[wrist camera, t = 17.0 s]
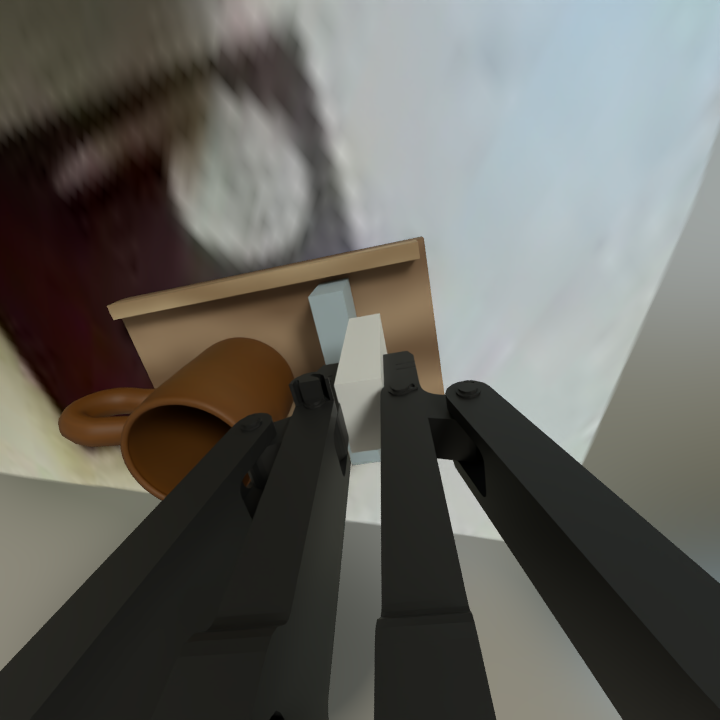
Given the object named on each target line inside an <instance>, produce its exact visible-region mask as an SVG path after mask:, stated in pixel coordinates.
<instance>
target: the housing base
mask: <svg viewBox="0 0 720 720" xmlns="http://www.w3.org/2000/svg"><path fill="white" fill-rule="evenodd" d="M344 278H348V279H349V283H350V288H351V293H352V297H353V302H354V307H355V311H356V316H357V317H362V316H367V315H373V314H379V313H380V317H381V323H382V328H383V334H384V339H385V345H386V350H387V354H390V353H396V352H402V351H408V352H410V353H411V354H413V355H414V360H415V365H416V369H417V374H418V379H419V383H420V386H421V388H422V389H423V390H424V391H427V392H429V393H432V394H440V395H444V388H443V381H442V373H441V366H440V358H439V351H438V343H437V335H436V328H435V320H434V313H433V305H432V297H431V290H430V282H429V275H428V267H427V259H426V252H425V244H424V238H423V237H417V238H413V239H408V240H403V241H398V242H393V243H389V244H384V245H379V246H374V247H369V248H365V249H360V250H355V251H350V252H345V253H341V254H336V255H331V256H326V257H321V258H317V259H312V260H307V261H302V262H297V263H293V264H288V265H283V266H278V267H273V268H269V269H264V270H259V271H254V272H249V273H245V274H240V275H235V276H230V277H225V278H221V279H216V280H211V281H206V282H201V283H197V284H192V285H187V286H182V287H177V288H173V289H168V290H163V291H158V292H153V293H149V294H144V295H139V296H134V297H129V298H125V299H122V300H119V301H116V302H114V303H113V304H111V305H108V306H107V307H108V309H109V312H110V314H111V316H112V318H113V320H116V319H121V318H122V320H123V322H124V324H125V326H126V328H127V330H128V332H129V335H130V337H131V339H132V341H133V343H134V345H135V347H136V349H137V352H138V354H139V356H140V358H141V360H142V362H143V364H144V367H145V369H146V371H147V373H148V375H149V377H150V379H151V381H152V384H153V386H154V388H155V389H156V388H158V387H159V386H160V385H161V384H163V383H164V382H165V381H166V380H168V379H169V378H170V377H171V376H173V375H174V374H175V373H176V372H178V371H179V370H180V369H181V368H183V367H184V366H185V365H186V364H188V363H189V362H190V361H192V360H193V359H194V358H196V357H197V356H198V355H199V354H201V353H202V352H203V351H204V350H206V349H207V348H209V347H210V346H212V345H213V344H215V343H217V342H219V341H222V340H225V339H228V338H234V337H244V338H251V339H255V340H258V341H261V342H263V343H265V344H267V345H269V346H270V347H272V348H274V349H275V350H276V351H277V352H278V353H279V354H280V355H281V356H282V357H283V358H284V359H285V360H286V362H287V363H288V365H289V366H290V368H291V371H292V373H293V376H294V379H295V378H296V377H298V376H301V375H303V374H306V373H310V372H317V371H318V370H319V369H320V368H321V367H322V366H323V365H326V364H325V360H324V356H323V352H322V348H321V344H320V341H319V337H318V333H317V329H316V325H315V322H314V318H313V314H312V310H311V306H310V302H309V299H308V297H309V295H310V294H311V293H312V292H313V291H314V289H315V288H316V287H317V286H318V284H319V283H324V282H329V281H334V280H339V279H344ZM294 409H295V403H294V401H293V404H292V407H291V410H290V412H289V414H288V416H287V417H290V416H292V414H293V411H294ZM348 453H349V451H348ZM349 457H350V455H349Z"/></svg>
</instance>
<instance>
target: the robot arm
mask: <svg viewBox="0 0 720 720" xmlns="http://www.w3.org/2000/svg"><path fill="white" fill-rule="evenodd" d="M289 387H290V391H291V394H292V397H293V400H294V403H295V409H294V411H293V414H292V416H290V417H287V418H285V419H282V420H279V421H276V422H273V419H272V417H271V415H269V414H268V413H254V414H251V415H248V416H246V417H245V418H243V419H241V420H239V421H238V422H237V423H236V424H234V426H233V427H232V428H231V429H230V430H229V431H228V432H227V433H226V434H225V435H224V436H223V437H222V438H221V439H220V440H219V441H218V442H217V443H216V445H215V446H214V447H213V448H212V449H211V450H210V451H209V452H208V453H207V454H206V455H205V456H204V457H203V458H202V459H201V460H200V461H199V462H198V463H197V465H196V466H195V467H194V468H193V469H192V470H191V471H190V472H189V473H188V474H187V475H186V476H185V477H184V478H183V479H182V480H181V481H180V482H179V484H178V485H177V486H176V487H175V488H174V489H173V490H172V491H171V492H170V493H169V494H168V495H167V496H166V497H165V498H164V499H163V500H162V502H160V504H159V505H158V506H157V507H156V508H155V509H154V510H153V511H152V512H151V513H150V514H149V515H148V516H147V517H146V519H144V521H142V523H141V524H140V525H139V526H138V527H137V528H136V529H135V530H134V531H133V532H132V533H131V534H130V535H129V536H128V537H127V538H126V539H125V541H123V543H122V544H121V545H120V546H119V547H118V548H117V549H116V550H115V551H114V552H113V553H112V554H111V555H110V556H109V557H108V558H107V560H105V562H104V563H103V564H102V565H101V566H100V567H99V568H98V569H97V570H96V571H95V572H94V573H93V574H92V575H91V576H90V577H89V578H88V579H87V580H86V582H85V583H84V584H83V585H82V586H81V587H80V588H79V589H78V590H77V591H76V592H75V593H74V594H73V595H72V596H71V597H70V598H69V600H68V601H67V602H66V603H65V604H64V605H63V606H62V607H61V608H60V609H59V610H58V611H57V612H56V613H55V614H54V615H53V616H52V617H51V619H49V621H48V622H47V623H46V624H45V625H44V626H43V627H42V628H41V629H40V630H39V631H38V632H37V633H36V634H35V635H34V636H33V637H32V638H31V639H30V641H29V642H28V643H27V644H26V645H25V646H24V647H23V648H22V649H21V650H20V651H19V652H18V653H17V654H16V655H15V656H14V657H13V658H12V660H11V661H10V662H9V663H8V664H7V665H6V666H5V667H4V668H3V669H2V670H1V671H0V720H329V718H328V694H329V685H330V674H331V664H332V653H333V642H334V632H335V622H336V611H337V601H338V591H339V579H340V570H341V559H342V549H343V539H344V538H343V537H344V528H345V518H346V507H347V497H348V486H349V476H350V466H351V462H350V457H349V453H348V443H349V444H350V448H351V452H352V453H356V452H363V451H371V450H378V449H381V570H382V571H381V574H382V612H381V617H380V618H379V619H377V623H376V630H375V687H374V688H375V689H374V691H375V693H374V696H375V697H374V720H496V716H495V712H494V707H493V703H492V698H491V694H490V689H489V685H488V680H487V676H486V672H485V667H484V662H483V658H482V654H481V649H480V644H479V640H478V635H477V631H476V627H475V622H474V619H473V615H472V613H471V611H470V609H469V605H468V600H467V596H466V592H465V587H464V582H463V578H462V573H461V568H460V564H459V559H458V554H457V550H456V545H455V540H454V536H453V531H452V527H451V522H450V517H449V513H448V508H447V503H446V499H445V494H444V490H443V485H442V480H441V476H440V471H439V466H438V462H437V458H439V459H448V460H453V462H454V465H455V467H456V469H457V470H458V472H459V473H460V475H461V476H462V478H463V479H464V481H465V482H466V484H467V485H468V487H469V489H470V490H471V492H472V493H473V495H474V496H475V498H476V499H477V501H478V502H479V504H480V505H481V507H482V508H483V510H484V511H485V513H486V514H487V516H488V517H489V519H490V520H491V522H492V523H493V525H494V526H495V528H496V529H497V531H498V532H499V534H500V535H501V537H502V538H503V540H504V541H505V543H506V544H507V546H508V547H509V549H510V550H511V552H512V553H513V555H514V556H515V558H516V559H517V561H518V562H519V564H520V565H521V567H522V568H523V570H524V571H525V573H526V574H527V576H528V577H529V579H530V580H531V582H532V583H533V585H534V586H535V588H536V589H537V591H538V592H539V594H540V595H541V597H542V598H543V600H544V602H545V603H546V605H547V606H548V608H549V609H550V611H551V612H552V614H553V615H554V616H555V618H556V620H557V621H558V622H559V624H560V625H561V627H562V629H563V630H564V632H565V633H566V634H567V636H568V638H569V639H570V641H571V642H572V644H573V645H574V647H575V648H576V650H577V651H578V653H579V654H580V656H581V657H582V659H583V660H584V661H585V663H586V665H587V666H588V668H589V669H590V671H591V672H592V674H593V675H594V677H595V678H596V680H597V681H598V683H599V684H600V686H601V687H602V689H603V690H604V692H605V693H606V695H607V697H608V698H609V699H610V701H611V702H612V704H613V706H614V707H615V709H616V710H617V712H618V713H619V715H620V716H621V718H622V719H623V720H720V583H719V582H717V581H716V580H715V579H714V578H712V577H711V576H710V575H709V574H708V573H707V572H706V571H705V570H703V569H702V568H701V567H700V566H699V565H698V564H696V563H695V562H694V561H693V560H692V559H690V558H689V557H688V556H687V555H686V554H685V553H683V552H682V551H681V550H680V549H679V548H677V547H676V546H675V545H674V544H673V543H672V542H670V540H668V539H667V538H666V537H665V536H664V535H663V534H661V533H660V532H659V531H658V530H657V529H655V528H654V527H653V526H652V525H651V524H650V523H649V522H647V521H646V520H645V519H644V518H643V517H642V516H640V515H639V514H638V513H637V512H636V511H635V510H633V509H632V508H631V507H630V506H629V505H627V504H626V503H625V502H624V501H623V500H622V499H620V498H619V497H618V496H617V495H616V494H615V493H613V492H612V491H611V490H610V489H609V488H608V487H606V486H605V485H604V484H603V483H602V482H601V481H599V480H598V479H597V478H596V477H595V476H594V475H592V474H591V473H590V472H589V471H588V470H587V469H586V468H584V467H583V466H582V465H581V464H580V463H579V462H577V461H576V460H575V459H574V458H573V457H572V456H570V455H569V454H568V453H567V452H566V451H565V450H563V449H562V448H561V447H560V446H559V445H558V444H556V443H555V442H554V441H553V440H552V439H551V438H549V437H548V436H547V435H546V434H545V433H544V432H542V431H541V430H540V429H539V428H538V427H537V426H535V425H534V424H533V423H532V422H531V421H530V420H528V419H527V418H526V417H525V416H524V415H523V414H521V413H520V412H519V411H518V410H517V409H516V408H514V407H513V406H512V405H511V404H510V403H509V402H507V401H506V400H505V399H504V398H503V397H502V396H500V395H499V394H498V393H497V392H496V391H495V390H493V389H492V388H491V387H490V386H488V385H487V384H485V383H483V382H478V381H473V380H470V381H469V380H466V381H462V382H457V383H455V384H453V385H451V386H450V387H448V388H447V390H446V393H445V394H446V395H440V394H432V393H429V392H427V391H424V390H423V389H422V388H421V386H420V383H419V379H418V374H417V369H416V365H415V360H414V355H413V354H411V353H410V352H408V351H402V352H396V353H390V354H387V350H386V345H385V339H384V334H383V328H382V323H381V317H380V313H379V314H373V315H367V316H362V317H356V318H350V319H349V321H348V325H347V330H346V334H345V339H344V343H343V348H342V352H341V356H340V361H339V363H334V364H328V365H323V366H322V367H321V368H320V369H319V370H318V371H317V372H310V373H306V374H303V375H301V376H298V377H296V378H295V379H294V380H292V381H291V382H290V384H289ZM247 473H248V475H249V477H250V479H251V481H250V483H249V484H248V485H247V486H246V487H245V485H244V483H243V481H242V480H243V478H244V476H245V475H246V474H247Z"/></svg>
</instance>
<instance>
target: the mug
mask: <svg viewBox="0 0 720 720" xmlns="http://www.w3.org/2000/svg"><path fill="white" fill-rule="evenodd" d="M292 380H294V376H293V373H292V371H291V368H290V366H289V365H288V363H287V362H286V360H285V359H284V358H283V357H282V356H281V355H280V354H279V353H278V352H277V351H276V350H275V349H274V348H272V347H270V346H269V345H267V344H265V343H263V342H261V341H258V340H255V339H251V338H244V337H234V338H228V339H225V340H222V341H219V342H217V343H215V344H213V345H212V346H210V347H209V348H207V349H206V350H204V351H203V352H202V353H201V354H199V355H198V356H197V357H196V358H194V359H193V360H192V361H190V362H189V363H188V364H186V365H185V366H184V367H183V368H181V369H180V370H179V371H178V372H176V373H175V374H174V375H173V376H171V377H170V378H169V379H168V380H166V381H165V382H164V383H163V384H161V385H160V386H159V387H158V388H156V389H142V388H113V389H108V390H103V391H99V392H95V393H93V394H90V395H87V396H85V397H82V398H80V399H78V400H76V401H74V402H73V403H71V404H70V405H69V406H67V407H66V408H65V410H64V411H63V413H62V414H61V416H60V418H59V421H58V425H59V430H60V433H61V434H62V436H63V437H65V438H67V439H68V440H70V441H72V442H74V443H75V444H79V445H83V446H88V447H100V446H115V445H121V452H122V456H123V459H124V462H125V464H126V466H127V468H128V470H129V471H130V473H131V474H132V476H133V477H134V478H135V480H136V481H137V482H138V483H139V484H140V485H141V486H142V487H143V488H144V489H145V490H147V491H148V492H149V493H151V494H152V495H154V496H155V497H157V498H158V499H160V500H163V499H164V498H165V497H166V496H167V495H168V494H169V493H170V492H171V491H172V490H173V489H174V488H175V487H176V486H177V485H178V484H179V482H180V481H181V480H182V479H183V478H184V477H185V476H186V475H187V474H188V473H189V472H190V471H191V470H192V469H193V468H194V467H195V466H196V465H197V463H198V462H199V461H200V460H201V459H202V458H203V457H204V456H205V455H206V454H207V453H208V452H209V451H210V450H211V449H212V448H213V447H214V446H215V445H216V443H217V442H218V441H219V440H220V439H221V438H222V437H223V436H224V435H225V434H226V433H227V432H228V431H229V430H230V429H231V428H232V427H233V426H234V424H236V423H237V422H238V421H239V420H241V419H243V418H245V417H246V416H248V415H251V414H254V413H268V414H269V415H271V417H272V419H273V422H276V421H279V420H282V419H285V418H287V416H288V414H289V412H290V410H291V407H292V404H293V401H294V400H293V397H292V394H291V391H290V387H289V384H290V382H291V381H292ZM117 414H130V416H116V417H109V416H112V415H117ZM242 481H243V483H244V485H245V487H246V486H247V485H248V484H249V483H250V481H251V479H250V477H249V475H248V473H247V474H246V475H245V476H244V478H243V480H242Z"/></svg>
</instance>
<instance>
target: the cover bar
mask: <svg viewBox="0 0 720 720" xmlns="http://www.w3.org/2000/svg"><path fill="white" fill-rule="evenodd" d="M308 299H309V302H310V306H311V310H312V314H313V318H314V322H315V325H316V329H317V333H318V337H319V341H320V344H321V348H322V352H323V356H324V360H325V364H326V365H328V364H334V363H339V361H340V356H341V352H342V348H343V343H344V339H345V334H346V330H347V325H348V321H349V319H350V318H356V317H357V316H356V311H355V307H354V302H353V297H352V293H351V288H350V283H349V279H348V278H344V279H339V280H334V281H329V282H324V283H319V284H318V286H317V287H316V288H315V289H314V291H313V292H312V293H311V294H310V295H309V297H308ZM348 451H349V455H350V459H351V463H352V465H358V464H365V463H373V462H381V449H378V450H371V451H363V452H356V453H352V452H351V448H350V444H349V443H348Z"/></svg>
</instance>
